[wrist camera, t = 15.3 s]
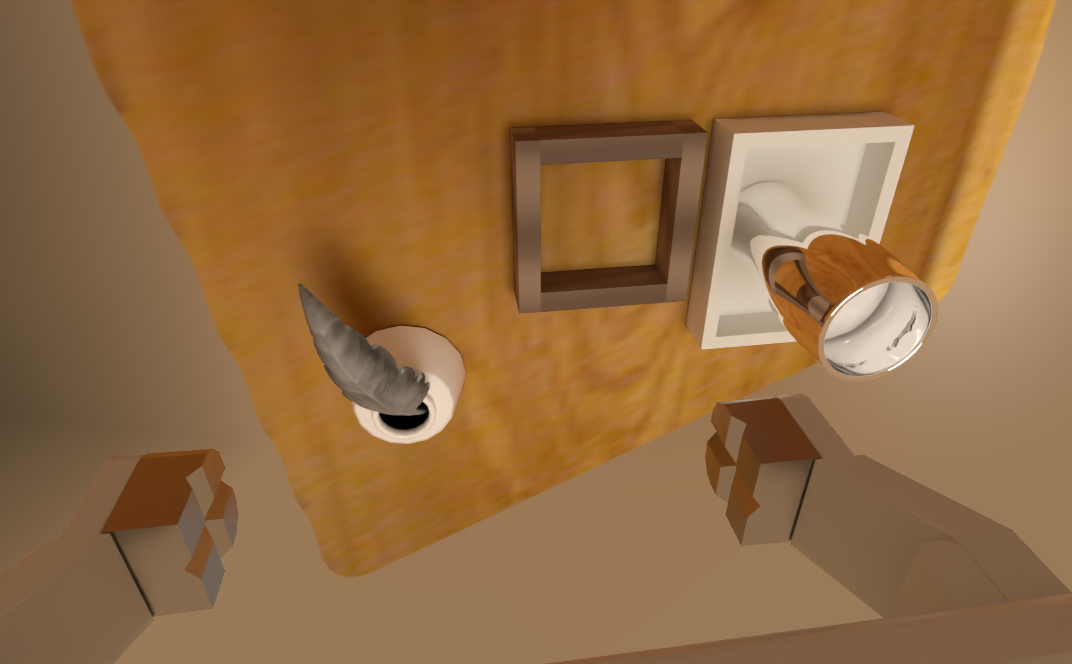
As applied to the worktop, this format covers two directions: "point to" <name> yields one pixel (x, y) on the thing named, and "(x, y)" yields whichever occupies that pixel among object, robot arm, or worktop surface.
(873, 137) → the cream white tray
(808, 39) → the worktop surface
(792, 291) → the beer glass
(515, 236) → the walnut collar
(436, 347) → the inkwell
